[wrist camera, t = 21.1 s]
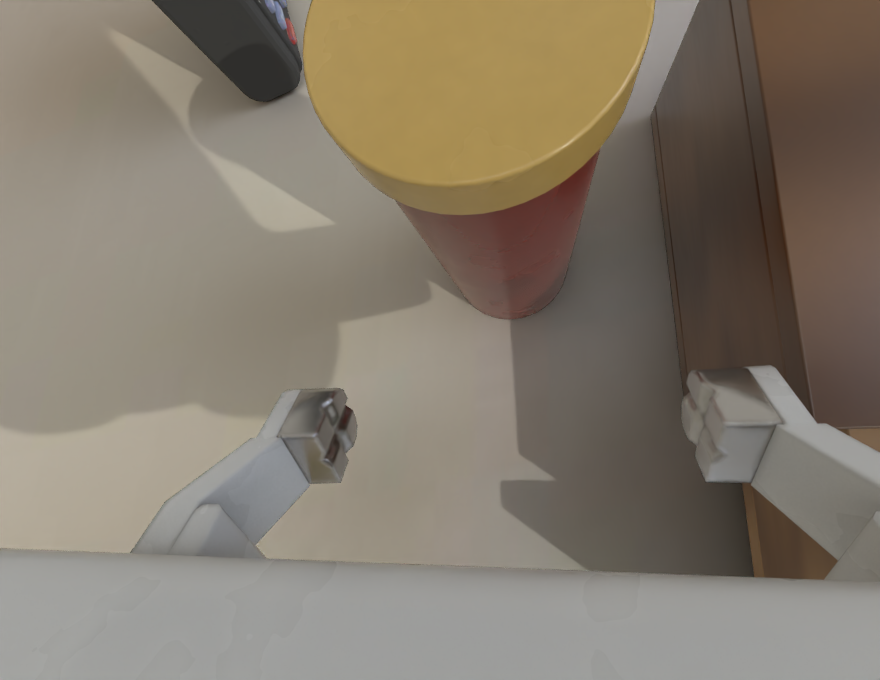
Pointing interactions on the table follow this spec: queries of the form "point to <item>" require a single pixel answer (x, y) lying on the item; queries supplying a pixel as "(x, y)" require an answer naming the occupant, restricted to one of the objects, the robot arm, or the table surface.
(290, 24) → the card reader
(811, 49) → the cabinet
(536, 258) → the tea tin
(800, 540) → the drawer
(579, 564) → the table surface
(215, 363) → the table surface
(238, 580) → the robot arm
